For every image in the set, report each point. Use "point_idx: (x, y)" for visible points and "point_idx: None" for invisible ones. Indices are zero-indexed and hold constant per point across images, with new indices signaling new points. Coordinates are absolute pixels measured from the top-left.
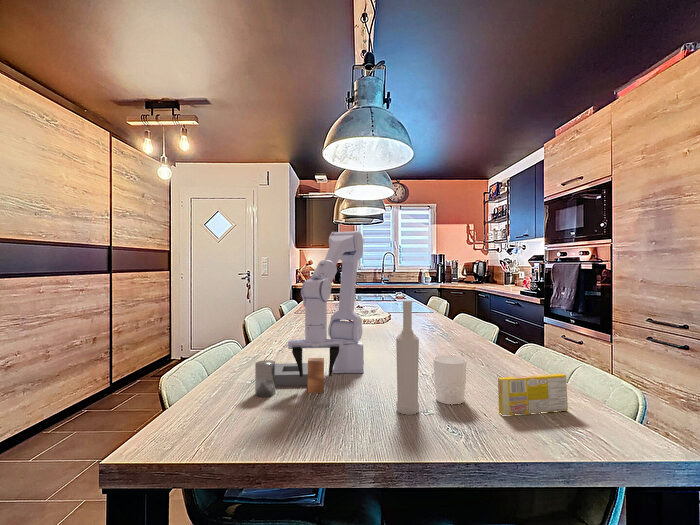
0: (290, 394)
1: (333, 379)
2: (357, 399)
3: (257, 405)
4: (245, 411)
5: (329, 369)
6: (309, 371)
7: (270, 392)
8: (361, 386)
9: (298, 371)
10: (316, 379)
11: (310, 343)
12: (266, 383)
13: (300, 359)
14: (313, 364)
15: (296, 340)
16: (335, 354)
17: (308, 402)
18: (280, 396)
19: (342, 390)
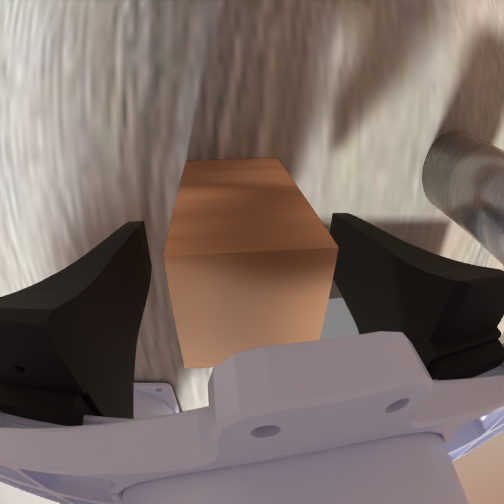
0: (363, 145)
1: (158, 333)
2: (19, 72)
3: (475, 49)
4: (496, 12)
5: (128, 236)
6: (297, 207)
7: (451, 141)
8: (23, 248)
9: (329, 338)
10: (233, 184)
11: (420, 415)
12: (493, 149)
13: (413, 260)
14: (274, 237)
15: (472, 446)
16: (14, 297)
17: (271, 16)
18: (406, 126)
19: (90, 192)
